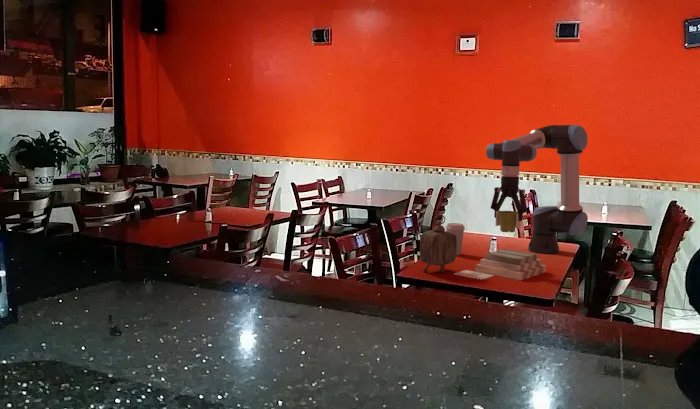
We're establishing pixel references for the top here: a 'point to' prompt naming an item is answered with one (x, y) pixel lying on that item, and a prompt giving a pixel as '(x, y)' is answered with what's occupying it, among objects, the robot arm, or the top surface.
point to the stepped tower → (511, 264)
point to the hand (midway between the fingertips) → (507, 226)
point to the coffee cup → (457, 234)
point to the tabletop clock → (438, 246)
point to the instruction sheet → (473, 274)
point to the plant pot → (507, 220)
